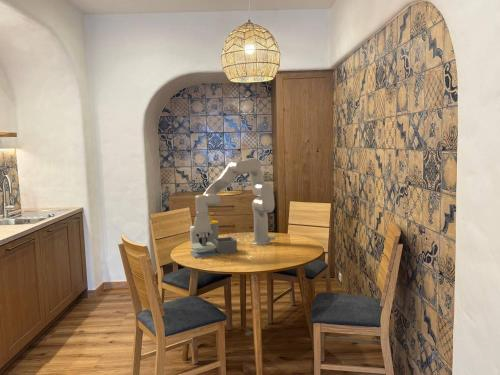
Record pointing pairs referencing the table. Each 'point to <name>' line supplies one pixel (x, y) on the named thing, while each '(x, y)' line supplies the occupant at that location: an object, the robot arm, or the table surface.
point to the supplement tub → (194, 236)
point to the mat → (203, 253)
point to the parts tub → (225, 245)
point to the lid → (203, 245)
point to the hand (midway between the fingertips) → (203, 243)
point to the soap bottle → (215, 230)
